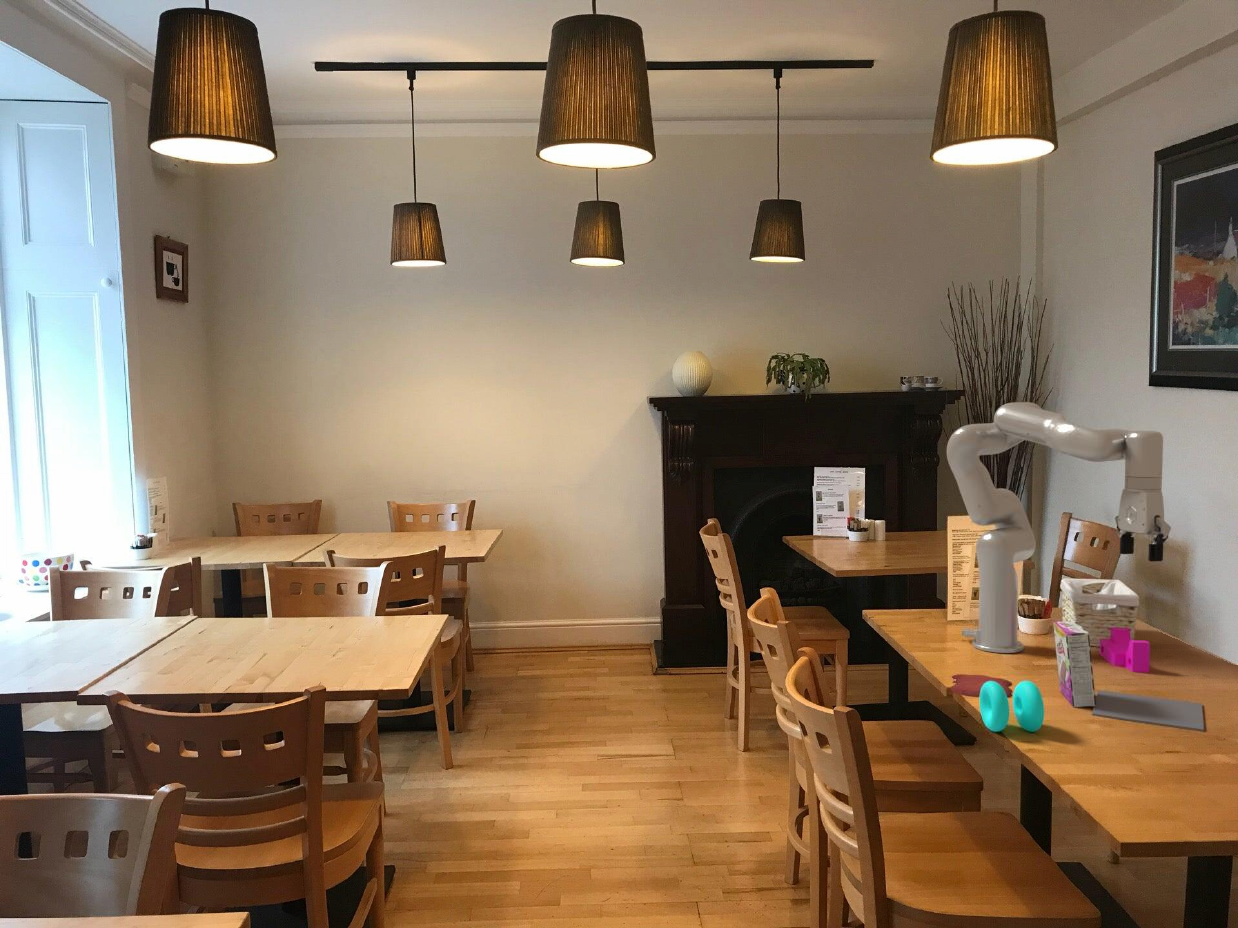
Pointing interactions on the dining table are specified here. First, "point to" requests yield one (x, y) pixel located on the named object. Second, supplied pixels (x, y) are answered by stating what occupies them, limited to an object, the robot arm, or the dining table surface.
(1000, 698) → the donuts
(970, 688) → the patty
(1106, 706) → the mat
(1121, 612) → the storage basket
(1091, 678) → the candy bar box
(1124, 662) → the toy block
